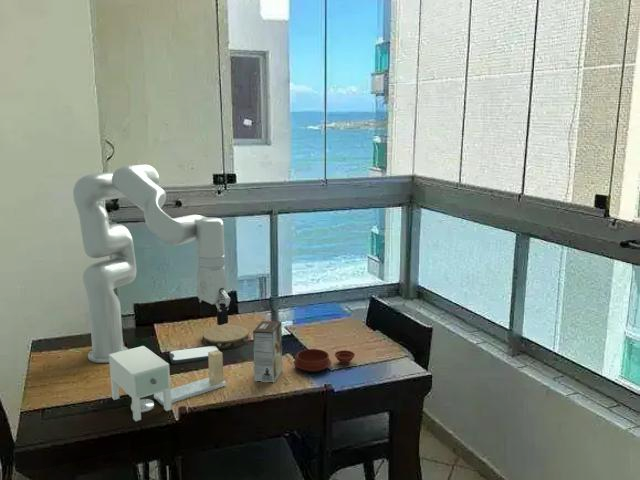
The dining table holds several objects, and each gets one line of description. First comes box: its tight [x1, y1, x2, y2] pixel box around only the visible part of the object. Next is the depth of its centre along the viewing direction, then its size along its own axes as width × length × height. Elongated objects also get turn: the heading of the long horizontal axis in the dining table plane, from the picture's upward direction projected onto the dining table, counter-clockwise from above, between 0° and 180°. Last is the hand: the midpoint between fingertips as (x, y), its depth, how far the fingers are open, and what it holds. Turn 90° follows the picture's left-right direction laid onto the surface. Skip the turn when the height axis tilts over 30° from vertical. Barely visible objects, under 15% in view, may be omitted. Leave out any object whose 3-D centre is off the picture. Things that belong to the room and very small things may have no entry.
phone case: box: [168, 346, 220, 365], centre depth 193 cm, size 9×2×16 cm
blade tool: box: [153, 350, 227, 407], centre depth 167 cm, size 6×20×10 cm, turn 129°
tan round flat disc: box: [201, 324, 249, 350], centre depth 207 cm, size 16×16×3 cm
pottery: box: [293, 348, 356, 373], centre depth 185 cm, size 12×20×4 cm, turn 111°
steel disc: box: [130, 398, 155, 413], centre depth 159 cm, size 6×6×1 cm
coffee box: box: [252, 320, 283, 384], centre depth 177 cm, size 9×6×16 cm
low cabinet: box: [108, 345, 173, 422], centre depth 159 cm, size 18×10×13 cm, turn 39°
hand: (214, 319), depth 169 cm, fingers open, 9 cm apart
